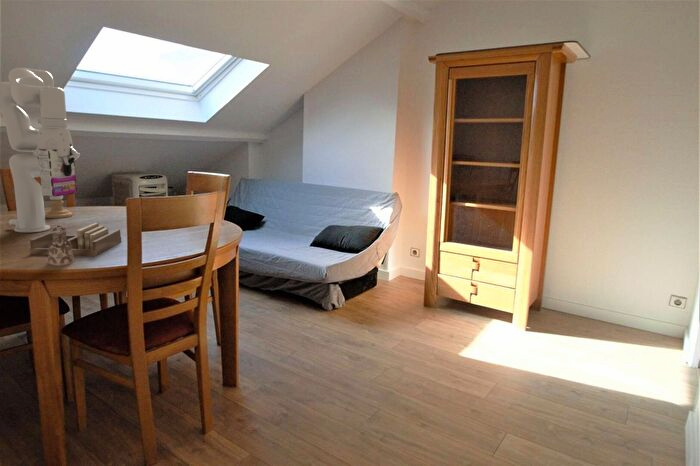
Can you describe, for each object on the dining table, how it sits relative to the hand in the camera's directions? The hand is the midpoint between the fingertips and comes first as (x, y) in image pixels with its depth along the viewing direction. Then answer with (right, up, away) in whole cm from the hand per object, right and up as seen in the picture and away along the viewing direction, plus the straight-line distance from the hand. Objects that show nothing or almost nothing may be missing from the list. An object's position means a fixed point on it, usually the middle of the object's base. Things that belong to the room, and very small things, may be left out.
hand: (58, 174), depth 167 cm
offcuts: (+10, -26, +6) cm, 29 cm away
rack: (+4, -26, +6) cm, 27 cm away
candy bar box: (0, -7, +2) cm, 7 cm away
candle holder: (-38, -13, +60) cm, 72 cm away
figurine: (+9, -31, -13) cm, 35 cm away
